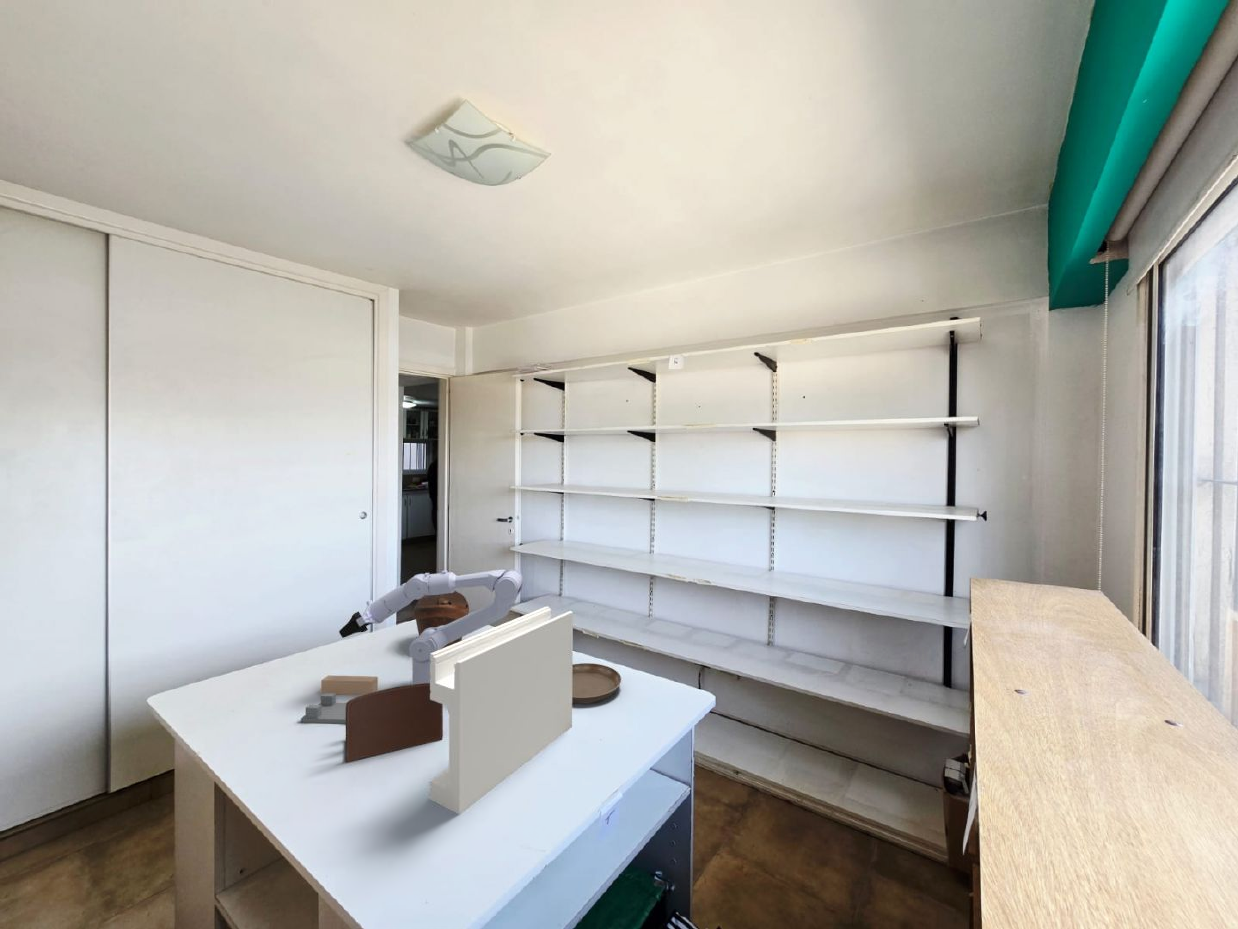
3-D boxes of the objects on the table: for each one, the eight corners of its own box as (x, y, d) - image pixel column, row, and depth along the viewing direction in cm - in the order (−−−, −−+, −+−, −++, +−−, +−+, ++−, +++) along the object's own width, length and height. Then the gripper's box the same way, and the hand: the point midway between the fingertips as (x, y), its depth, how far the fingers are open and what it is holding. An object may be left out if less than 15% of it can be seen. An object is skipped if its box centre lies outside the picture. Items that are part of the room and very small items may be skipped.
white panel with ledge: (459, 814, 93) (459, 663, 92) (429, 799, 97) (430, 653, 96) (571, 726, 123) (572, 611, 122) (545, 717, 127) (546, 606, 127)
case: (438, 662, 159) (439, 605, 159) (400, 649, 170) (400, 595, 170) (482, 646, 174) (483, 593, 174) (444, 634, 185) (445, 585, 185)
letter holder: (443, 740, 117) (443, 679, 117) (345, 764, 108) (345, 698, 107) (436, 720, 126) (436, 663, 126) (345, 740, 117) (345, 679, 116)
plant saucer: (588, 717, 128) (588, 704, 128) (531, 692, 141) (531, 680, 141) (635, 687, 145) (635, 675, 145) (581, 668, 157) (581, 657, 157)
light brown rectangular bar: (377, 691, 141) (377, 676, 141) (372, 696, 138) (372, 681, 138) (328, 689, 141) (328, 675, 141) (321, 694, 138) (321, 680, 138)
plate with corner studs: (382, 707, 131) (382, 694, 131) (365, 724, 123) (365, 710, 123) (321, 706, 132) (321, 692, 132) (300, 722, 124) (300, 708, 124)
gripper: (394, 586, 148) (355, 611, 148) (370, 597, 134) (326, 625, 134) (407, 606, 148) (367, 631, 148) (384, 620, 134) (340, 648, 134)
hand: (348, 630), depth 141 cm, fingers open, 7 cm apart
